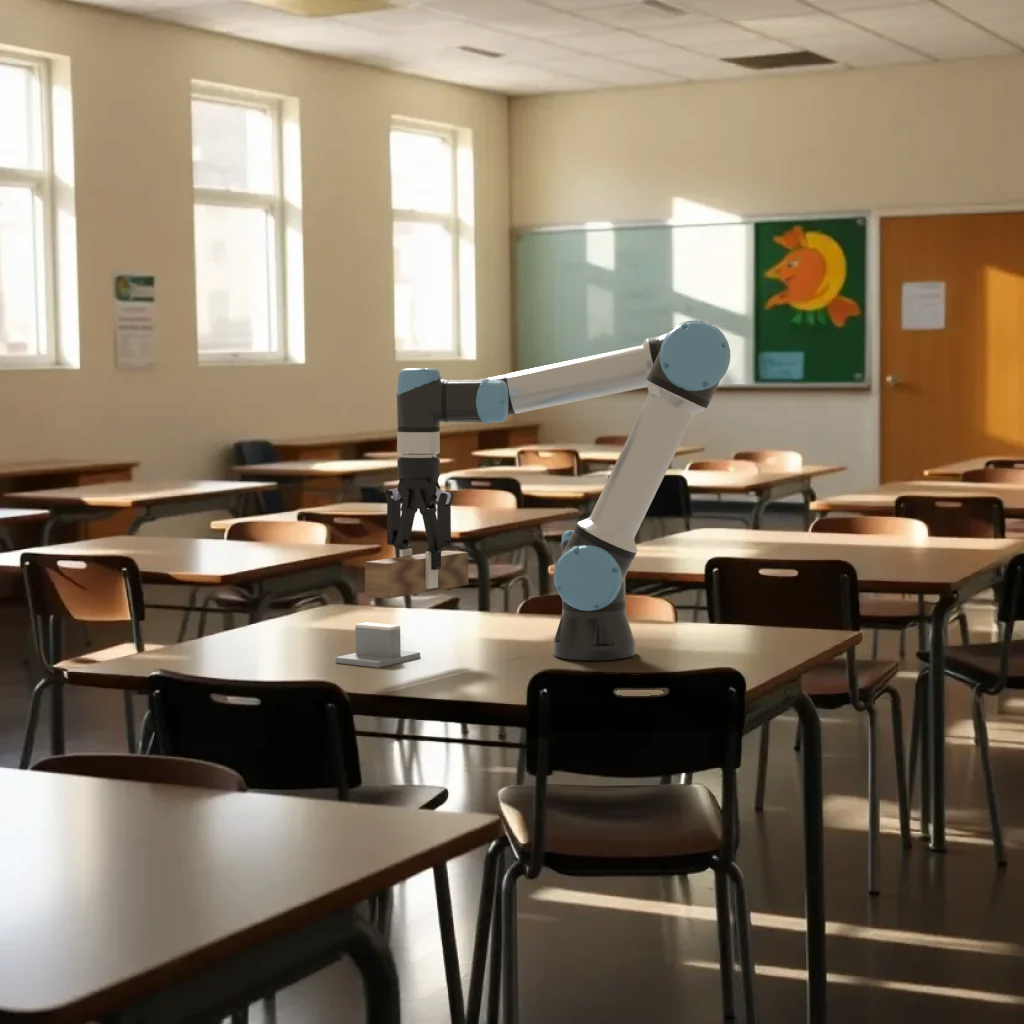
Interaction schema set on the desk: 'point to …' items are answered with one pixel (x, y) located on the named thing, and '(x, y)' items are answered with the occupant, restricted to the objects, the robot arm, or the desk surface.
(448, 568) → the brown long rectangular block
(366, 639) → the fulcrum
